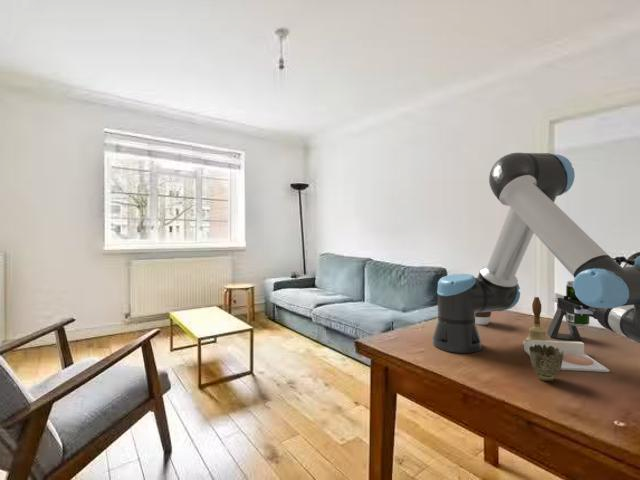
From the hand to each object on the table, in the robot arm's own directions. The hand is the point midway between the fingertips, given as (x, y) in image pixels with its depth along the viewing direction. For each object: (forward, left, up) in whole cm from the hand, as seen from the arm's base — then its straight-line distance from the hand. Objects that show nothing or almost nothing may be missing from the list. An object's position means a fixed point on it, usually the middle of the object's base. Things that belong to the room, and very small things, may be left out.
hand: (567, 297), depth 104 cm
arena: (-3, -4, -18) cm, 18 cm away
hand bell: (-5, +9, -18) cm, 21 cm away
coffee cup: (-17, +34, -18) cm, 42 cm away
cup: (-13, -18, -18) cm, 28 cm away
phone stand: (+7, +19, -18) cm, 27 cm away
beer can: (0, -5, -7) cm, 8 cm away
